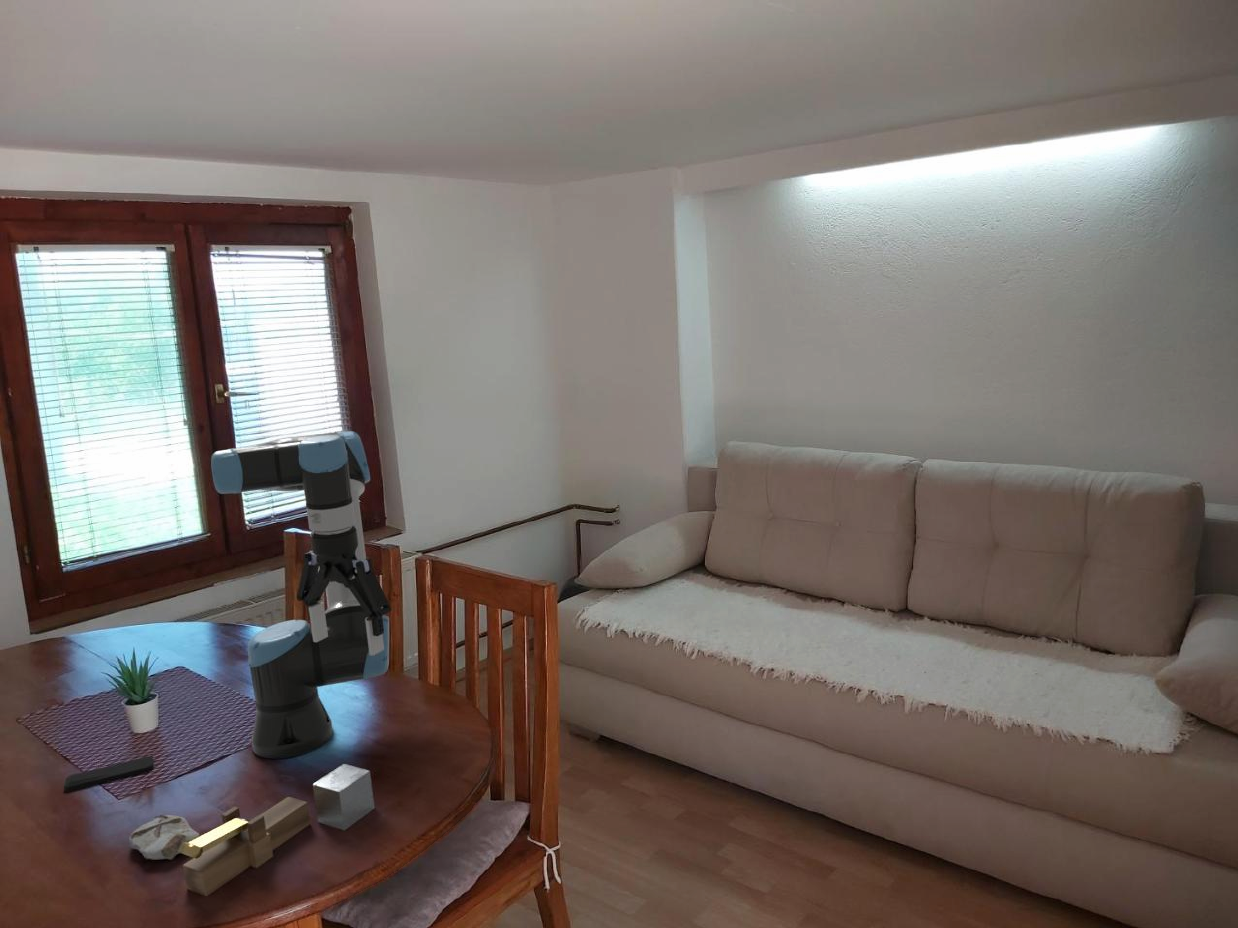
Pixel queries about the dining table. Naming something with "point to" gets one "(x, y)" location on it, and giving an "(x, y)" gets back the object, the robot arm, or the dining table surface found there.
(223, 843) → the tan wooden beam joint
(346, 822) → the brushed steel cube
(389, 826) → the dining table surface
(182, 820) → the stone
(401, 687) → the dining table surface
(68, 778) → the remote control
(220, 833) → the lever
